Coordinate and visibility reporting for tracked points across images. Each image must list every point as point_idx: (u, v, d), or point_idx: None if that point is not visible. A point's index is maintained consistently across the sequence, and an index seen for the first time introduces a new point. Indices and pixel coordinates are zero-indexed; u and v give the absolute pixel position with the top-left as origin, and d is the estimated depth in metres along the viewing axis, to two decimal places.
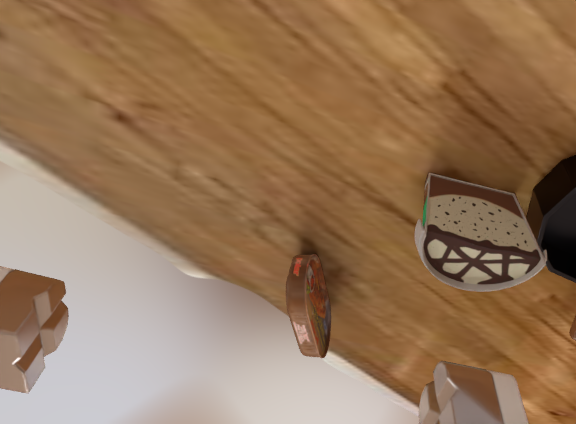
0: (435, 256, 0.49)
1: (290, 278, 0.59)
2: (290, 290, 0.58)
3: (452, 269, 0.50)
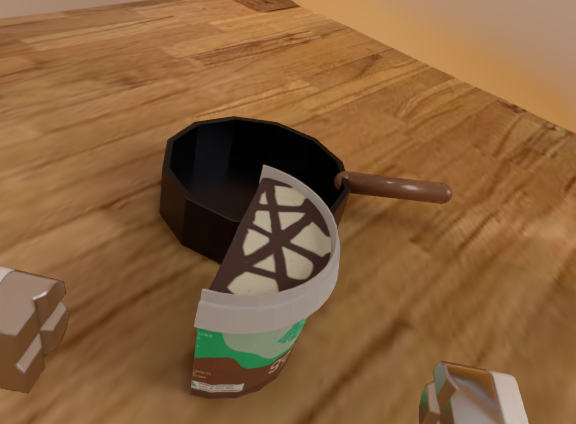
0: (272, 288, 0.25)
1: None
2: None
3: (303, 267, 0.27)
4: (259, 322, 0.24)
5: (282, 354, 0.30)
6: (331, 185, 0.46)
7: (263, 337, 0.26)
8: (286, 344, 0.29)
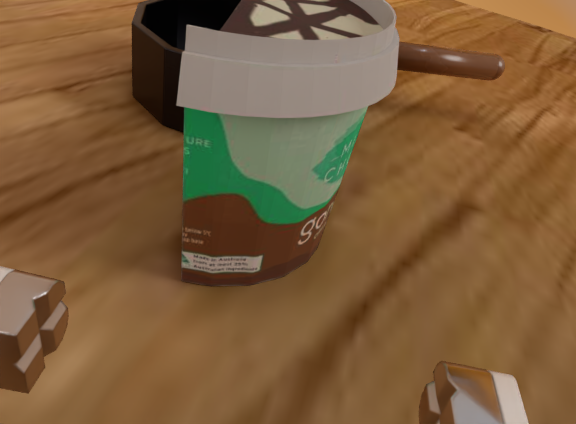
0: None
1: None
2: None
3: None
4: (288, 95, 0.14)
5: (317, 209, 0.20)
6: None
7: (292, 151, 0.16)
8: (324, 187, 0.19)
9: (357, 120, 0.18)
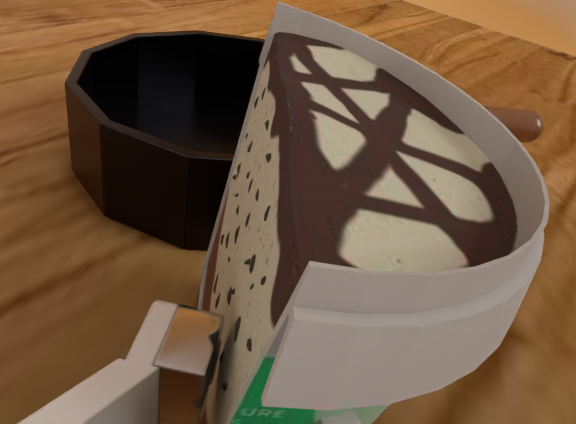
0: (447, 248, 0.09)
1: None
2: None
3: (466, 194, 0.11)
4: (458, 354, 0.08)
5: None
6: None
7: None
8: None
9: None
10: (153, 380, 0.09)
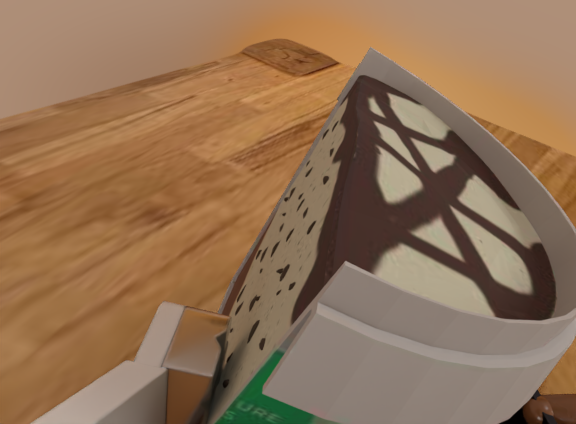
0: (479, 304, 0.09)
1: None
2: None
3: (510, 264, 0.11)
4: (466, 407, 0.07)
5: None
6: None
7: None
8: None
9: None
10: (161, 382, 0.09)
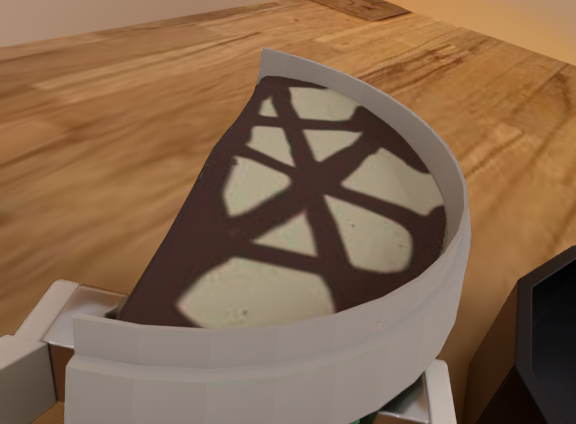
0: (317, 301, 0.08)
1: None
2: None
3: (387, 241, 0.10)
4: (285, 415, 0.07)
5: None
6: None
7: None
8: None
9: None
10: (42, 356, 0.09)
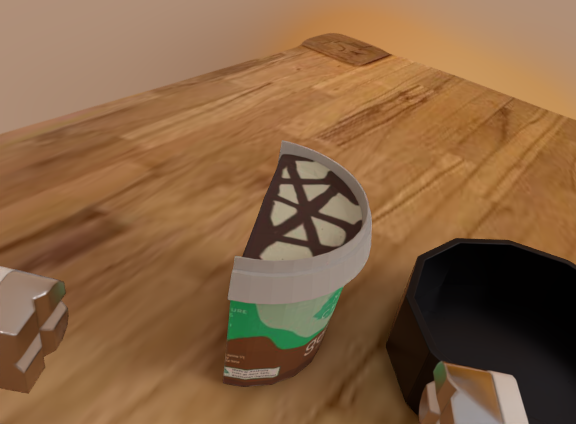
0: (307, 256, 0.24)
1: None
2: None
3: (336, 235, 0.26)
4: (296, 290, 0.23)
5: (317, 333, 0.28)
6: None
7: (299, 310, 0.25)
8: (321, 321, 0.27)
9: None
10: None
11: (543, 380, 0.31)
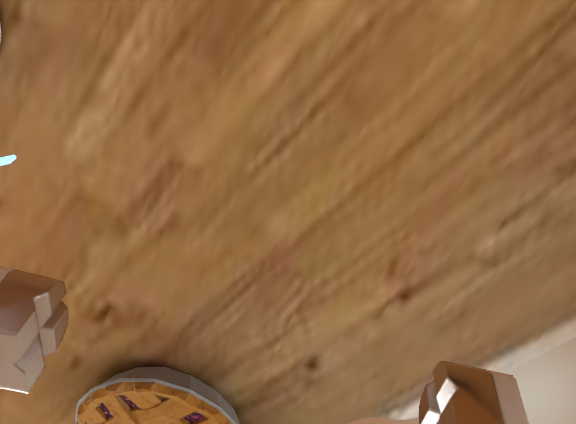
0: None
1: None
2: None
3: None
4: None
5: None
6: None
7: None
8: None
9: None
10: None
11: None
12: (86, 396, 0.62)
